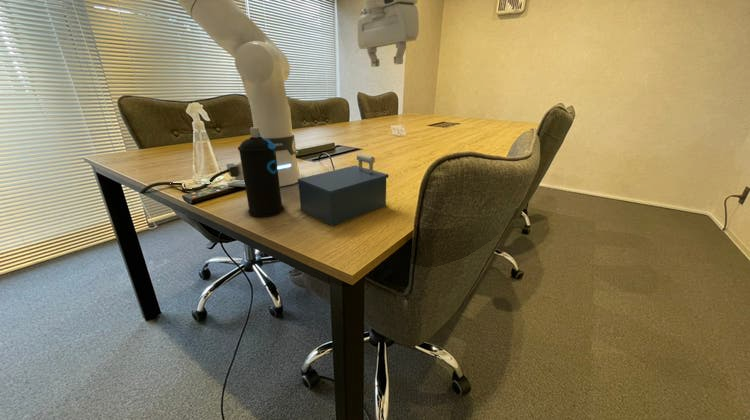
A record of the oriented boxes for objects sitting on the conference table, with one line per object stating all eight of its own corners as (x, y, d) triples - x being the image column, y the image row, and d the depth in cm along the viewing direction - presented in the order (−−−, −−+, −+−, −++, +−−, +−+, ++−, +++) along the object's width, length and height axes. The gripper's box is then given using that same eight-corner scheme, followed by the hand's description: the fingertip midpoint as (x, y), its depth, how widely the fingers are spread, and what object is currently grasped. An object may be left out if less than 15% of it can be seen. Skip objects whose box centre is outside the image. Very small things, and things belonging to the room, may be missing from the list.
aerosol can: (246, 219, 70) (231, 131, 62) (249, 206, 77) (236, 125, 70) (283, 215, 72) (273, 129, 65) (283, 203, 80) (274, 124, 72)
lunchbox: (353, 193, 87) (353, 168, 84) (385, 205, 79) (386, 178, 76) (300, 210, 75) (298, 182, 72) (332, 226, 67) (330, 195, 64)
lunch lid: (355, 168, 85) (355, 150, 83) (388, 177, 76) (389, 158, 74) (298, 182, 72) (296, 161, 70) (330, 195, 64) (329, 172, 62)
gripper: (349, 9, 79) (354, 68, 84) (401, -10, 63) (403, 63, 69) (369, 11, 82) (372, 67, 88) (423, -8, 67) (423, 62, 72)
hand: (386, 65), depth 78 cm, fingers open, 8 cm apart
